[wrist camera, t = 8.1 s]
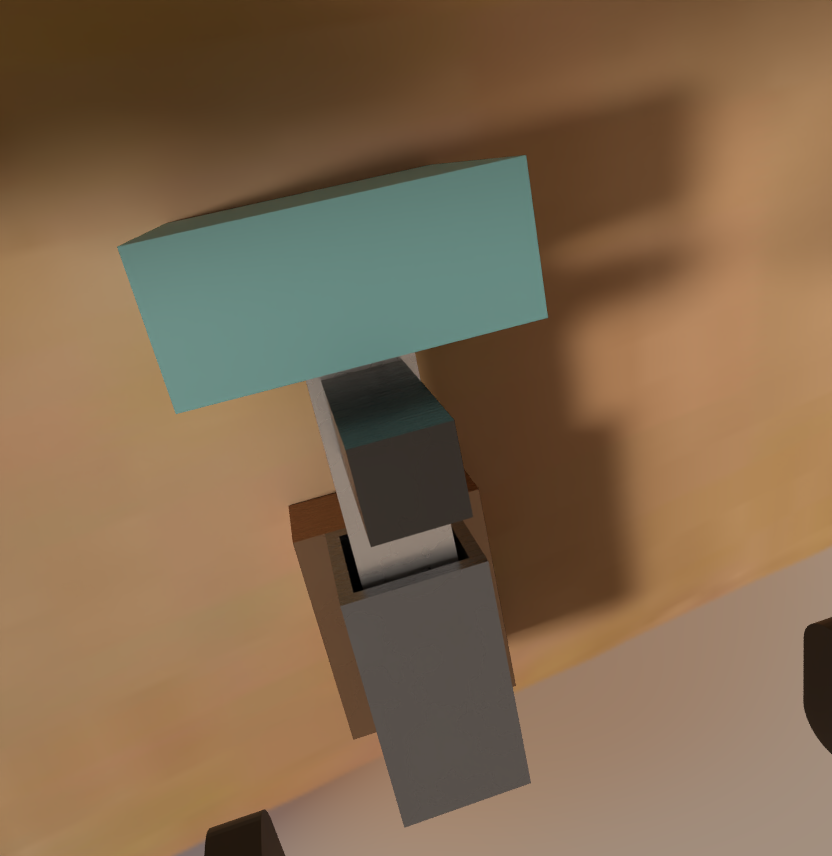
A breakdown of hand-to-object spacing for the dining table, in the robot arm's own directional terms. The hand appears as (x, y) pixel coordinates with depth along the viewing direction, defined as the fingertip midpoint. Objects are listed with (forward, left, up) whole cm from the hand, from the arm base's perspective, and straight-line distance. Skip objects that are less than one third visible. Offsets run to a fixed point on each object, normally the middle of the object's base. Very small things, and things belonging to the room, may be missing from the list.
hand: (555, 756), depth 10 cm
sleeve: (+13, 0, -26) cm, 29 cm away
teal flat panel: (-5, 0, -26) cm, 26 cm away
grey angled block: (+3, 0, -21) cm, 21 cm away
